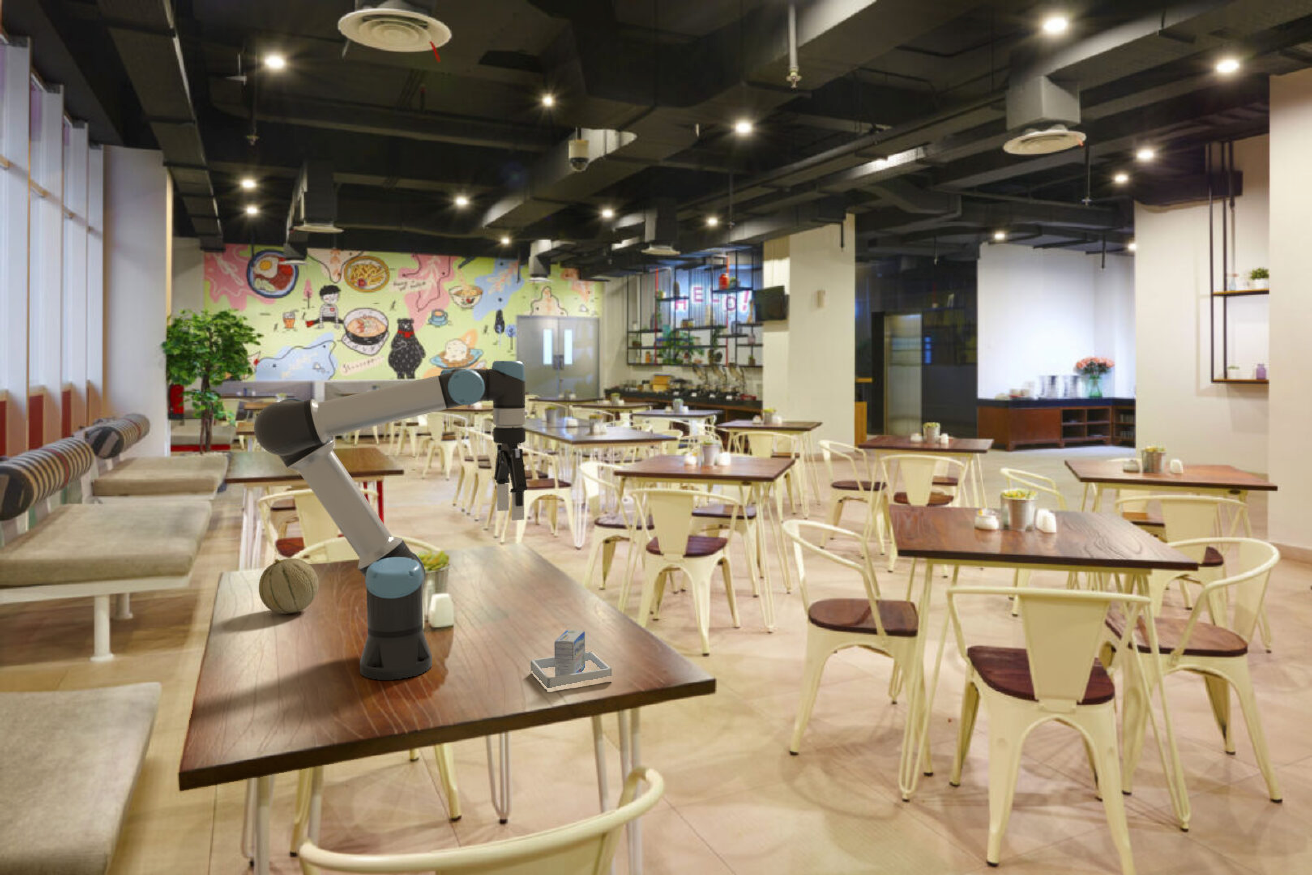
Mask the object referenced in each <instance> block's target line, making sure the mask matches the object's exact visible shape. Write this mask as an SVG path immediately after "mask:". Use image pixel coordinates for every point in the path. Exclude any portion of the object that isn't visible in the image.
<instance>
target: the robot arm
mask: <svg viewBox="0 0 1312 875" xmlns="http://www.w3.org/2000/svg"><path fill="white" fill-rule="evenodd" d="M478 402H492V424H493V425H494V426H495V427H493V429H492V430H493V433H492V434H493V442H494V443H495V444H497V446H496V448H497V451H496V461H495V470H494V476H493V479H494V481H495V484H496V503H497V504H496V508H497V510H496V511H497V512H503V511H504V512H505V511H510V507H509V506H510V502H509V499H510V498H509V497H510V496H509V494H510V493H511V520H512V521H523V520H525V491H527V490H528V485H527V478H526V477H527V476H526V470H525V462H524V451H523V448H519V446H518V445H519V444H523V443H526V437H527V436H526V434H527V432H526V431H527V430H526V427H525V426H524V425H525V424H526V416H528V412H527V411H526V372H525V364H524V363H523V361H520V360H494V361H493V362H492V365H491V368H484V369H482V368H475V369H474V368H445V369H442V370H441V371H440V374H439V375H434V376H429V377H425V378H421V379H417V380H412V381H409V382H404V383H399V384H395V385H390V386H386V387H382V388H376V389H371V390H368V391H364V392H359V393H356V394H355V393H354V394H351V395H347V396H343V397H337V398H333V399H327V400H324V401H318V400H316V399H314V398H312V399H307V400H302V399H298V398H286V399H282V400H281V401H276V402H272V403H269V405H266V406H264V407H263V408H262V409H261V410H260V411H259V413H258V415H257V416H256V418H255V420H254V425H253V432H254V436H255V437H254V438H255V440H256V441H257V443H258V444H259V445H260V446H261V448H262V449H264V450H265V451H266V452H269V453H270V454H272V455H276V456H278V457H279V458H280V459H281V461H282V462H283V464H284V465H285V467H286V468H287V469H288V470H293V471H297V472H298V473H299V474H300V475H301V477H302V479H303V480H304V481H305V482H306V484H307V485H308V487H309V489H310V490H311V491H312V492H313V494H314V495H315V497H316V498H317V499H318V502H320V504H321V505H322V507H323V508H324V509H325V511H326V513H327V514H328V515H329V516H330V518H331V519H332V521H333V522H334V523H335V525H336V527H337V528H338V529H339V531H340V532H341V534H342V535H343V536H344V538H345V540H346V541H347V542H348V543H349V545H350V547H351V548H352V549H353V551H354V552H355V554H356V555H357V556H358V558H359V561H358V565H357V569H358V570H359V572H360V573H361V574H362V575H363V577H364V580H365V581H364V582H365V587H366V622H367V623H366V626H367V637H366V640H365V644H364V647H363V650H362V654H361V657H360V660H359V673H360V675H361V676H363V677H365V678H366V679H370V678H371V679H370V680H375V679H377V681H397V680H396V679H398V680H403V679H402V678H405V679H409V678H408V677H410V678H413V677H412V676H414V677H416V676H420V675H421V674H424V673H426V672H427V671H429V670H431V668H430V667H433V666H432V665H433V656H432V652H431V649H430V647H429V644H428V640H427V638H426V636H425V633H424V623H423V622H424V610H423V609H424V608H423V606H424V605H423V604H424V603H423V601H424V600H423V597H424V596H423V593H424V588H425V582H426V578H427V577H426V569H425V566H424V563H423V562H422V560H421V558H420V557H419V556H417V554H415V553H414V552H413V551H411V549H410V548H409V547H408V545H407V544H406V542H405V541H404V539H403V538H402V537H398V536H393V535H392V534H391V532H390V531H389V530H388V528H387V527H386V525H385V524H384V523H383V521H382V519H381V518H380V516H379V515H378V514H377V512H376V511H375V509H374V508H373V507H372V505H371V504H370V502H369V501H368V499H367V498H366V496H365V495H364V494H363V492H362V491H361V489H360V488H359V486H358V484H356V483H357V482H355V480H354V479H353V478H352V476H351V475H350V474H349V473H350V472H349V471H348V470H347V469H346V467H345V465H343V463H342V462H341V460H340V459H339V458H338V455H336V453H335V452H334V444H335V439H334V436H340V435H343V434H348V433H351V432H356V431H361V430H365V429H368V428H369V429H370V428H372V427H373V428H374V427H376V426H381V425H385V424H389V423H393V422H398V421H401V420H405V419H411V418H414V417H418V416H422V415H428V414H431V413H435V412H440V411H443V410H447V409H455V408H456V407H461V406H470V405H473V404H477V403H478ZM509 476H510V477H509ZM510 483H511V486H512V488H510V490H509V487H510V486H509V484H510ZM509 492H510V493H509ZM425 671H426V672H425ZM423 672H424V673H423ZM419 674H420V675H419ZM394 679H395V680H394Z"/></svg>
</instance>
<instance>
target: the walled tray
mask: <svg viewBox="0 0 1312 875" xmlns="http://www.w3.org/2000/svg"><path fill="white" fill-rule="evenodd" d="M588 660H591V661H592V662H593V663H595V664H596V665H597V667H599V668H600V669H601V670H594V671H588V672H581V673H575V674H568V675H562V676H555V677H548V676H547V675H546V673H545V672H544V671H543V670H542V668H548V667H555V656H549V657H543V658H536V659H530V672H531V671H533V673H534V674H535V675H536V676H537V677H538V678H539V680H541V681H542V683H543V684H544V685H545V686H546V687H547V688H552V687H556V686H561V685H566V684H572V683H577V682H581V681H585V680H593V679H598V678H603V677H607V676H612V677H613V674H612V672H613V671H612V670H613V669H612V668H611V667H610V666H609V665H608V663H606V662H605V661H604V660H602V658H600V656H598V655H596V654H595V652H593V651H592V650H591V651H585V661H588Z"/></svg>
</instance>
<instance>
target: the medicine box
mask: <svg viewBox="0 0 1312 875" xmlns="http://www.w3.org/2000/svg"><path fill="white" fill-rule="evenodd" d="M553 643H554V645H553V646H554V649H553V650H554V652H553V653H554V657H555V676H562V675H568V674H575V673H581V672H582V671H583V670H584V668H585V652H586V632H585V631H583V630H577V629H574V630H573V629H567V630H565V631H564V632H563V633H562V634H561V635H560V636H559V637H558V638H557V639H556V640H555V641H554V642H553Z"/></svg>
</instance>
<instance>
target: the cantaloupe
mask: <svg viewBox="0 0 1312 875" xmlns="http://www.w3.org/2000/svg"><path fill="white" fill-rule="evenodd" d="M318 578H319V577H318V575H317V572H316V571H315V570H314V568H313V567H312V566H311V565H310V564H309V563H308V562H306V561H304V560H302V559H299V558H293V557H292V558H291V557H290V558H284V559H279V558H277V559H275V561H274V562H273V563H272V564H270V565H269V566H267V567H266V569H264V571H263V572H262V574H261V576H260V578H259V583H258V594H259V597H260V599H261V601H262V603H263V604H264V606H265V607H266V608H267V609H268V610H269V611H271V612H274V613H277V614H282V615H287V614H288V615H290V614H294V613H299V612H301V611H304V610H305V609H307V608H308V607H309V606H310V605H311V604H312V603H313V602H314V600H315V598H316V597H317V593H318V590H319V579H318Z"/></svg>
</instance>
